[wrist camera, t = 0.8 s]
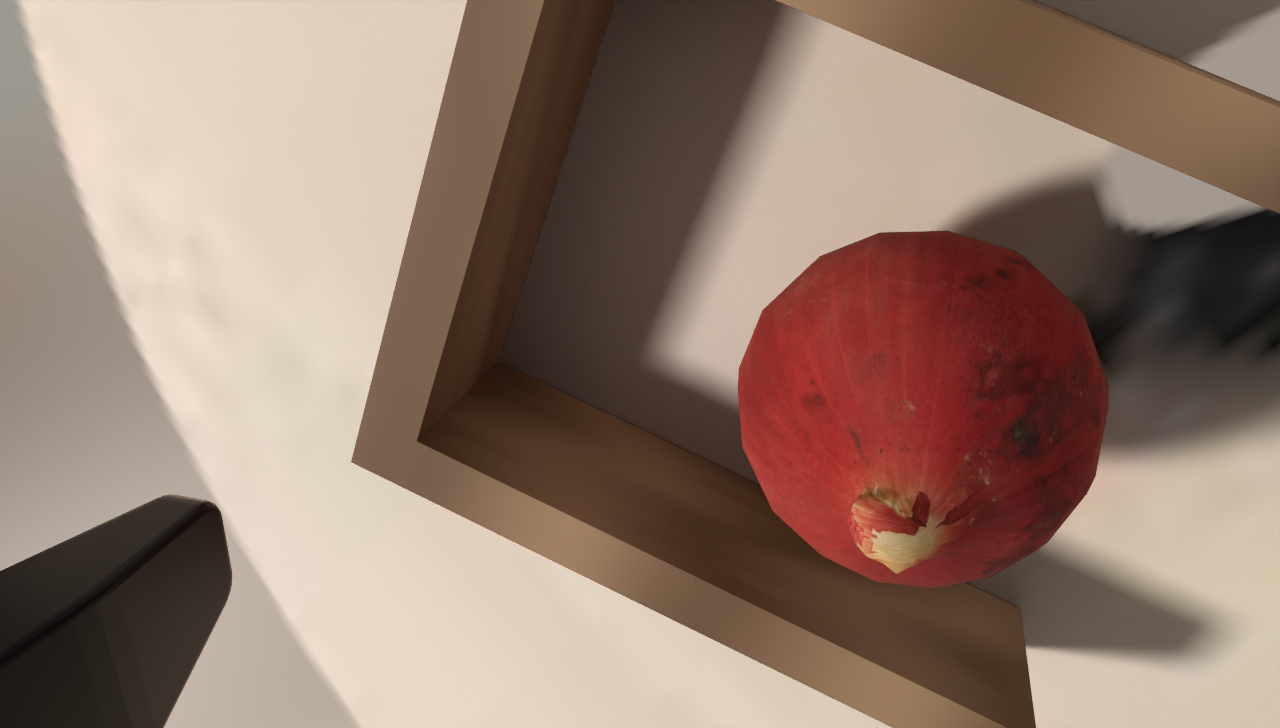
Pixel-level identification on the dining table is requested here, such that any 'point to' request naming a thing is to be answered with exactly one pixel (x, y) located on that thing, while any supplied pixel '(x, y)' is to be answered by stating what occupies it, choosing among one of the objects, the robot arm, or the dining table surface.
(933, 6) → the ball
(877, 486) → the onion
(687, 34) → the dining table surface
